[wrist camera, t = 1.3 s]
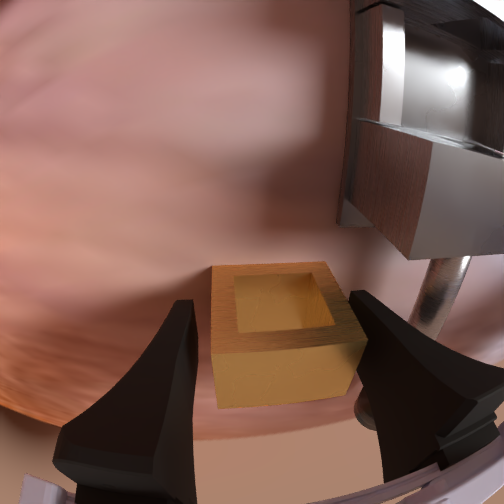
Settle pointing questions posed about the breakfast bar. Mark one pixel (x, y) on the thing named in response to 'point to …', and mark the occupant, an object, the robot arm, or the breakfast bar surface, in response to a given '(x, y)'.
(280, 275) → the block
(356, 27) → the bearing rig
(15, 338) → the breakfast bar surface
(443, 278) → the shaft
